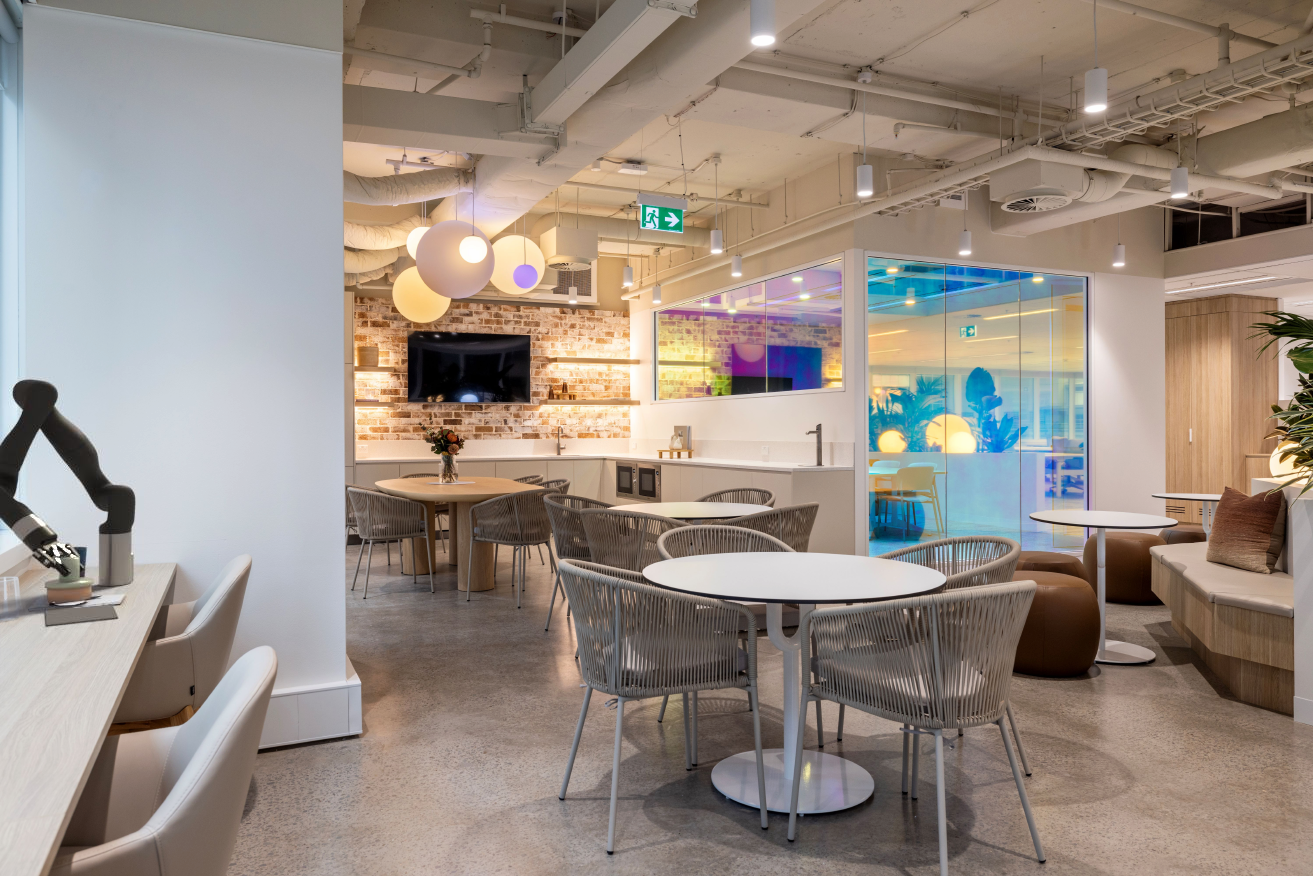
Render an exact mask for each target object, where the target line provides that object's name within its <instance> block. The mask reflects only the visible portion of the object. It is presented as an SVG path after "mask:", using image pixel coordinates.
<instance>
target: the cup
mask: <svg viewBox="0 0 1313 876" xmlns="http://www.w3.org/2000/svg"><path fill="white" fill-rule="evenodd" d="M72 547H73V548H74V549H75V550H76V552H77V553H78V554H79V555H80V563H81V564H82V565H83V566H84V567H85V568H86V564H87V563H86V562H87V550H88V547H86V546H72ZM72 555H74V554H72ZM64 556H65V554H64V555H63V556H62V557H64ZM74 556H75V555H74ZM85 576H86V569H85V570H84V571H83V572H82V573H80V577H85ZM85 578H86V577H85Z"/></svg>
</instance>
